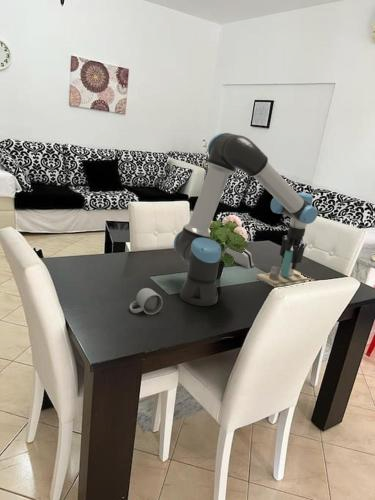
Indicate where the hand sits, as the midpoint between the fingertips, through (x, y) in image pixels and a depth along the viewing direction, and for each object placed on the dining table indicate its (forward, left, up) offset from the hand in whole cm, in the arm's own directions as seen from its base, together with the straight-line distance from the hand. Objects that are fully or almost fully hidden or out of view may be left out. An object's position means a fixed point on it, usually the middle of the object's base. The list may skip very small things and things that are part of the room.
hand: (286, 272), depth 187 cm
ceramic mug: (-80, -7, -4) cm, 80 cm away
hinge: (-9, +25, -4) cm, 27 cm away
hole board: (0, 0, -4) cm, 4 cm away
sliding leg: (0, 0, -2) cm, 2 cm away
